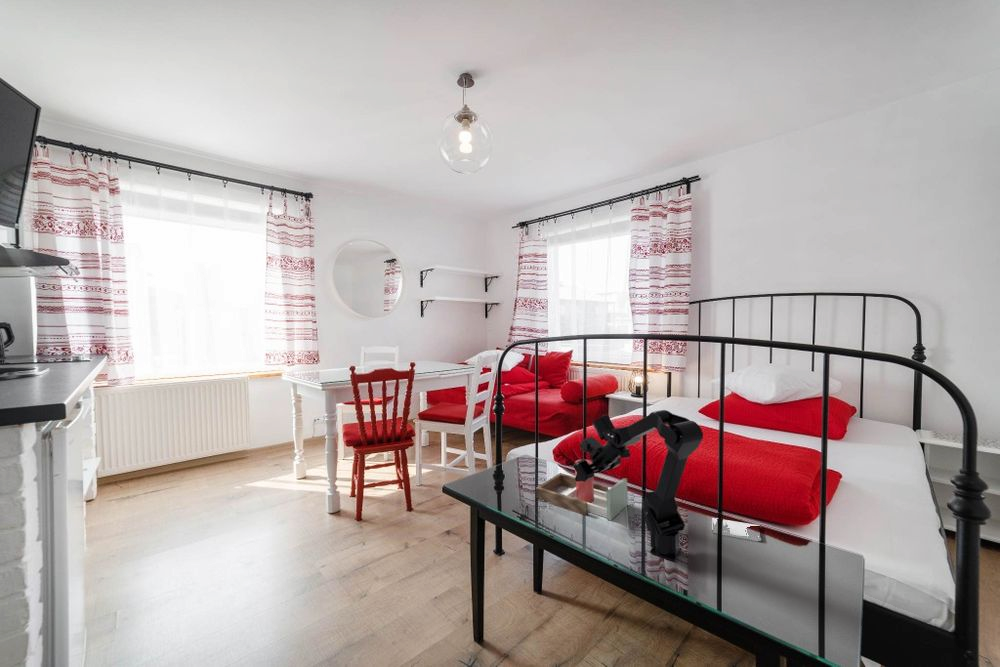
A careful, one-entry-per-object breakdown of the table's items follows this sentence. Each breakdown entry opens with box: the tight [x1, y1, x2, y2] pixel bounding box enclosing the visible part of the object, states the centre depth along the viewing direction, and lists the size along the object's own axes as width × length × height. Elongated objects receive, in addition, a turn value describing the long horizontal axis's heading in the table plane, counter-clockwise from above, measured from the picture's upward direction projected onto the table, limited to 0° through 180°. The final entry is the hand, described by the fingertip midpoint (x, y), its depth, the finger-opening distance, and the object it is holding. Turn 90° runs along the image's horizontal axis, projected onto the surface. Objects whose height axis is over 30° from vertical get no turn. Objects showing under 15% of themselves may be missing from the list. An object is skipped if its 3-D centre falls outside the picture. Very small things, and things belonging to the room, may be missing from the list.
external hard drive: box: [711, 517, 760, 537], centre depth 122 cm, size 2×8×12 cm
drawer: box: [535, 472, 609, 516], centre depth 147 cm, size 20×16×4 cm
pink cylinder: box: [574, 458, 594, 503], centre depth 143 cm, size 6×6×13 cm
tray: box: [564, 477, 629, 521], centre depth 141 cm, size 18×12×9 cm
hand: (584, 476), depth 143 cm, fingers open, 9 cm apart
